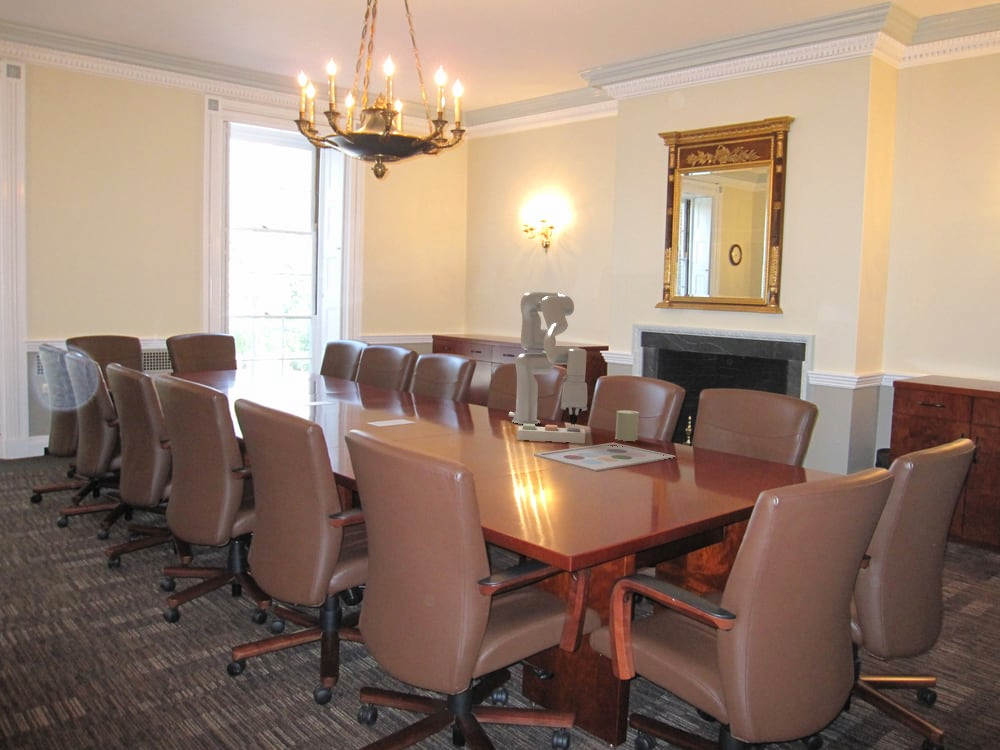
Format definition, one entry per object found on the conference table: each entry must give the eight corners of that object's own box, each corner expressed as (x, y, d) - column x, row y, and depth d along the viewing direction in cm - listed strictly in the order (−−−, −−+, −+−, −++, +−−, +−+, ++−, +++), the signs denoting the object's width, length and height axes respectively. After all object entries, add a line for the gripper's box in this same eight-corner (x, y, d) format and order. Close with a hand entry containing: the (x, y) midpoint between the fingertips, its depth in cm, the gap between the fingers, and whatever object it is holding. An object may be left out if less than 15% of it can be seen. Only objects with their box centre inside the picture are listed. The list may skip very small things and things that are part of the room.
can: (631, 442, 338) (633, 413, 337) (611, 439, 343) (612, 410, 342) (641, 439, 346) (642, 410, 345) (621, 436, 351) (622, 408, 350)
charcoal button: (567, 438, 336) (567, 430, 336) (567, 436, 341) (567, 428, 341) (579, 439, 336) (579, 430, 335) (579, 437, 341) (579, 428, 340)
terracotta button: (545, 435, 337) (545, 426, 336) (545, 433, 341) (545, 424, 341) (557, 435, 336) (557, 427, 336) (557, 433, 341) (557, 425, 341)
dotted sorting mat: (533, 453, 305) (613, 442, 333) (533, 457, 305) (613, 445, 333) (595, 469, 282) (675, 455, 310) (595, 473, 282) (675, 459, 310)
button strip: (517, 440, 335) (517, 430, 334) (518, 435, 345) (518, 425, 345) (584, 443, 333) (585, 433, 332) (584, 438, 344) (584, 428, 343)
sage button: (522, 434, 337) (523, 425, 337) (523, 432, 342) (523, 423, 342) (534, 434, 337) (535, 426, 337) (535, 432, 342) (535, 424, 341)
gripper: (556, 379, 333) (554, 424, 335) (594, 381, 332) (591, 426, 334) (557, 376, 340) (554, 421, 343) (593, 379, 339) (591, 423, 342)
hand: (572, 423), depth 339 cm, fingers closed
